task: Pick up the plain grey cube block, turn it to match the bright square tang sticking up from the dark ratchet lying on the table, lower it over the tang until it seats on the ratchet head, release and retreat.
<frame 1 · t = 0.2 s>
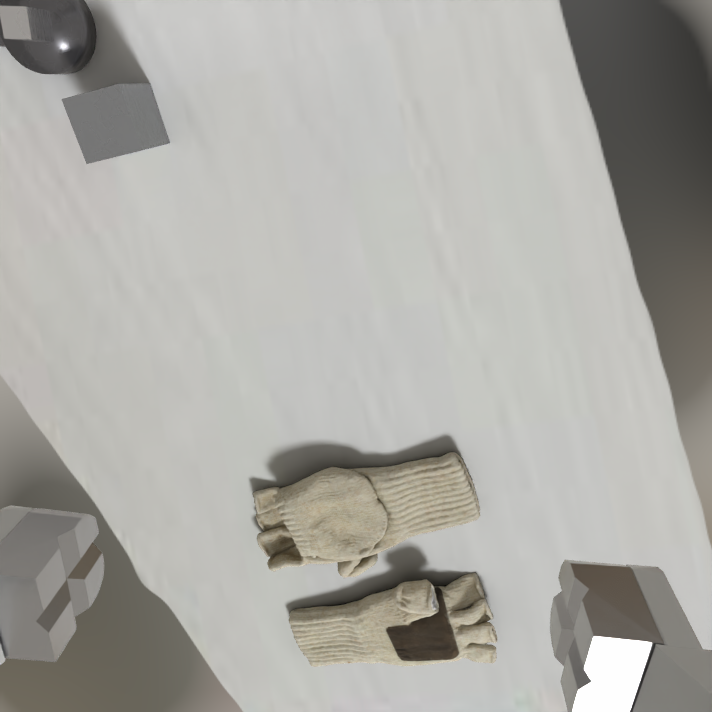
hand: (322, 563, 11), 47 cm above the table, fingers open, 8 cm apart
pair of gloves: (378, 557, 73), on the table
plain grey cube block: (134, 120, 54), on the table
ratchet: (55, 28, 51), on the table
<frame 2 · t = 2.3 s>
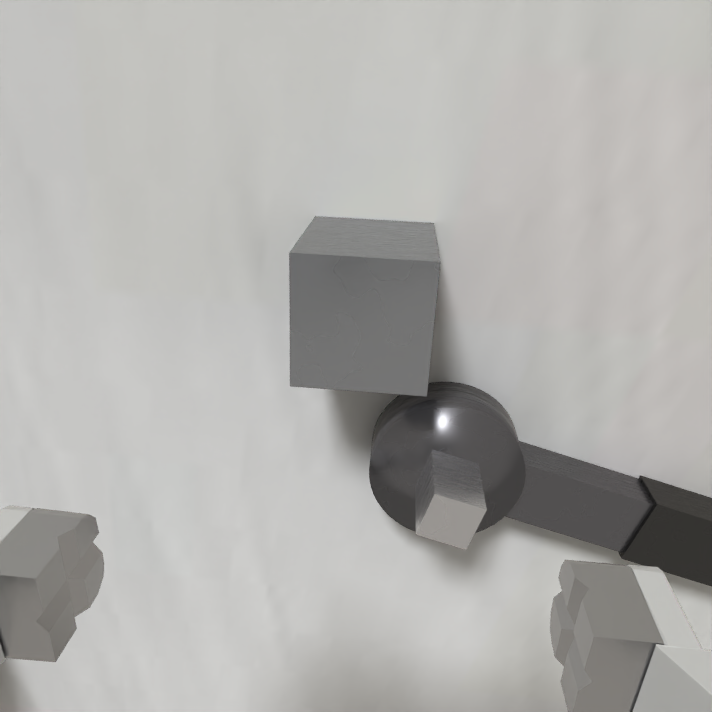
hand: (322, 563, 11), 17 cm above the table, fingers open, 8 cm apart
plain grey cube block: (371, 277, 27), on the table
ratchet: (443, 445, 30), on the table
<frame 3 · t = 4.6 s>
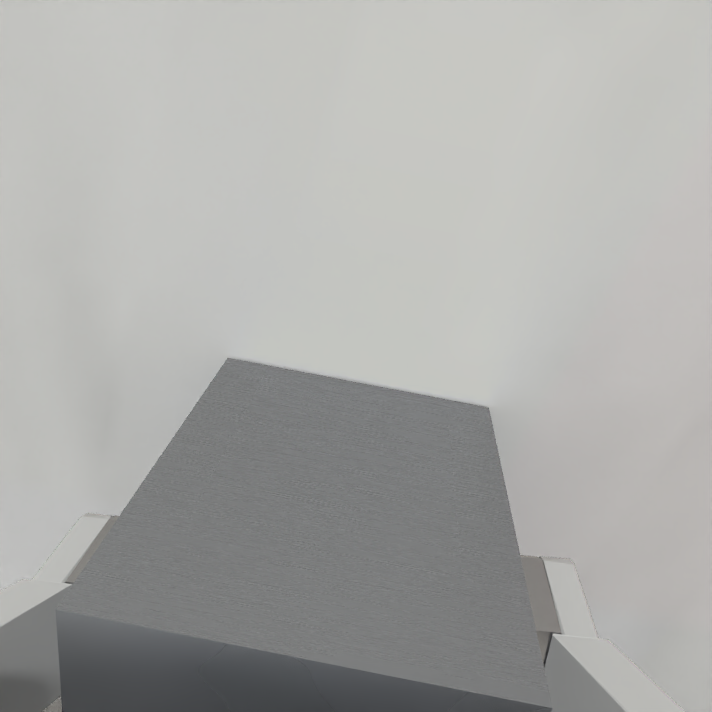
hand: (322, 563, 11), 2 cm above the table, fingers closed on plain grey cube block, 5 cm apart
plain grey cube block: (337, 488, 12), on the table, touching gripper
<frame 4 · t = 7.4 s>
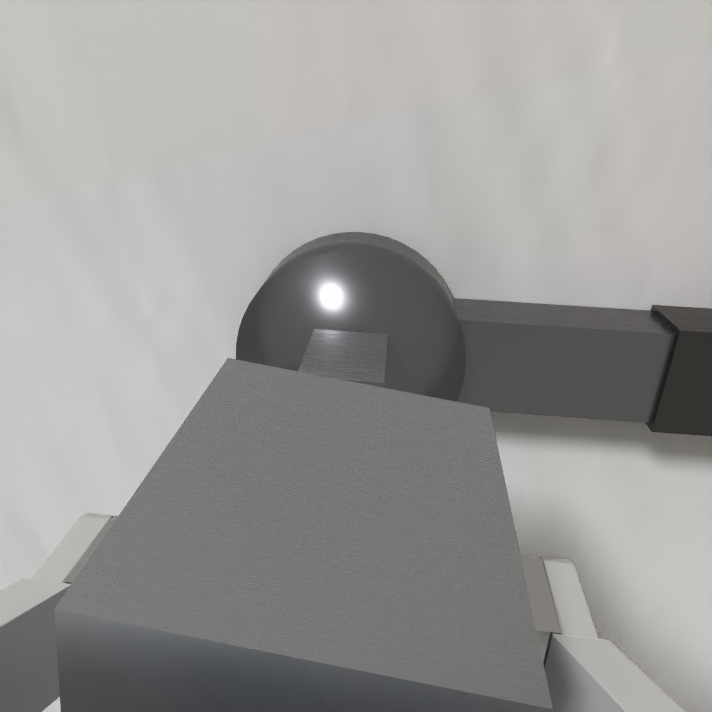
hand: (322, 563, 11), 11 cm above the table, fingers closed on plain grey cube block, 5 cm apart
plain grey cube block: (338, 489, 12), point 9 cm above the table, touching gripper
ratchet: (355, 334, 21), on the table
when the fingers open (5 cm above the table, at t = 10.1 s): plain grey cube block stays where it is, resting on ratchet.
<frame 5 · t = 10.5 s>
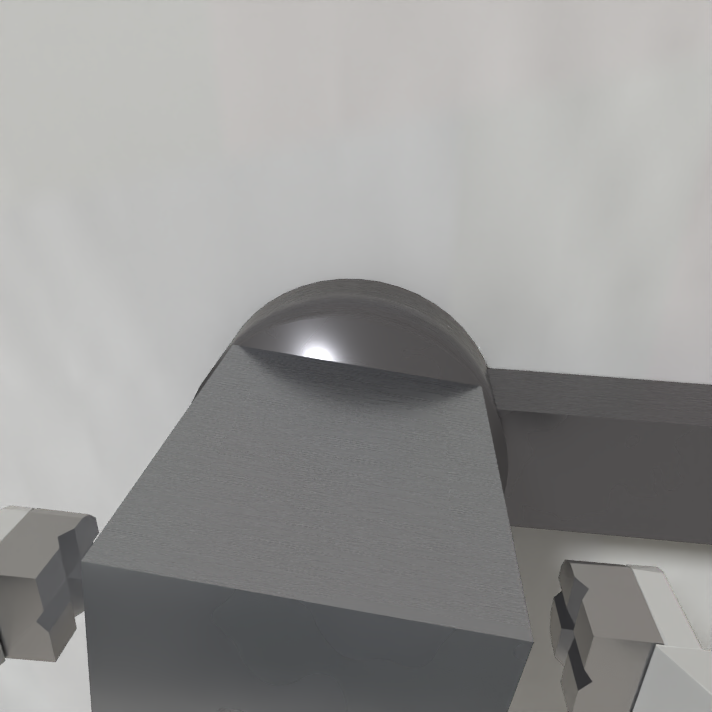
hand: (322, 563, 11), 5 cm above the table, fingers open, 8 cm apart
plain grey cube block: (340, 468, 13), point 2 cm above the table, touching ratchet
ratchet: (353, 411, 15), on the table
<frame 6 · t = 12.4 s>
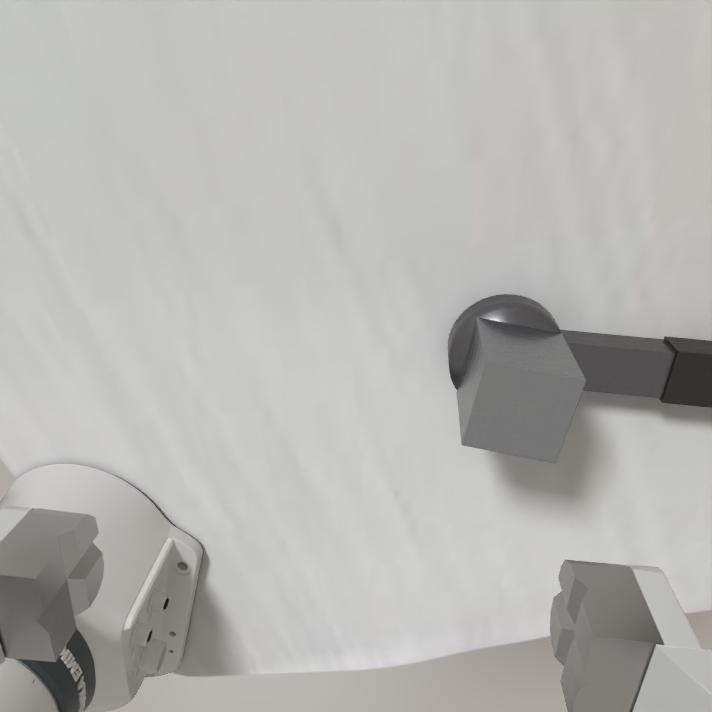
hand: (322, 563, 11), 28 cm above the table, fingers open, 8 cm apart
plain grey cube block: (507, 363, 36), point 2 cm above the table, touching ratchet
ratchet: (503, 346, 39), on the table
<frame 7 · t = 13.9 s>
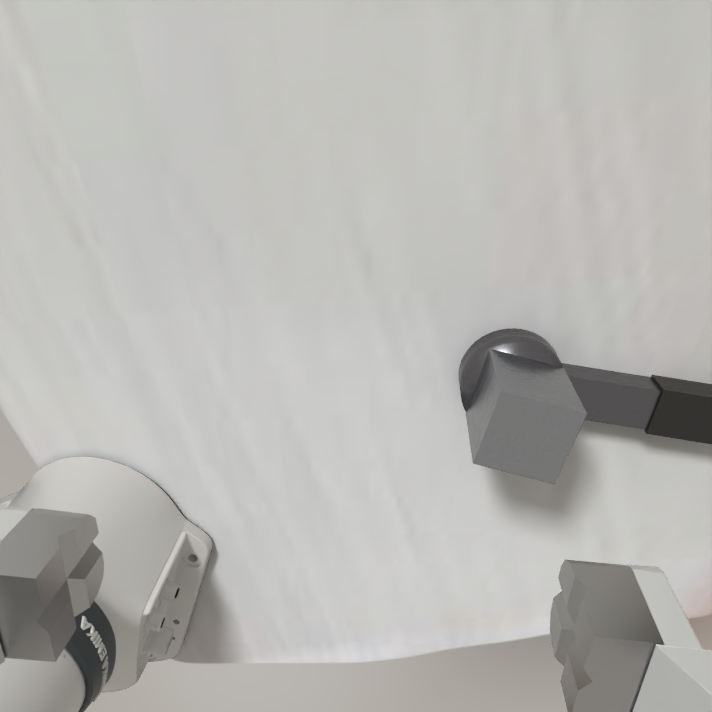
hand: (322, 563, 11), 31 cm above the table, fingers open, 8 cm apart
plain grey cube block: (513, 390, 40), point 2 cm above the table, touching ratchet
ratchet: (508, 374, 43), on the table
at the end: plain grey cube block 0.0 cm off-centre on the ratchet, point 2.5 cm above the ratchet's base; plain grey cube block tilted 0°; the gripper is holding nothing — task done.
